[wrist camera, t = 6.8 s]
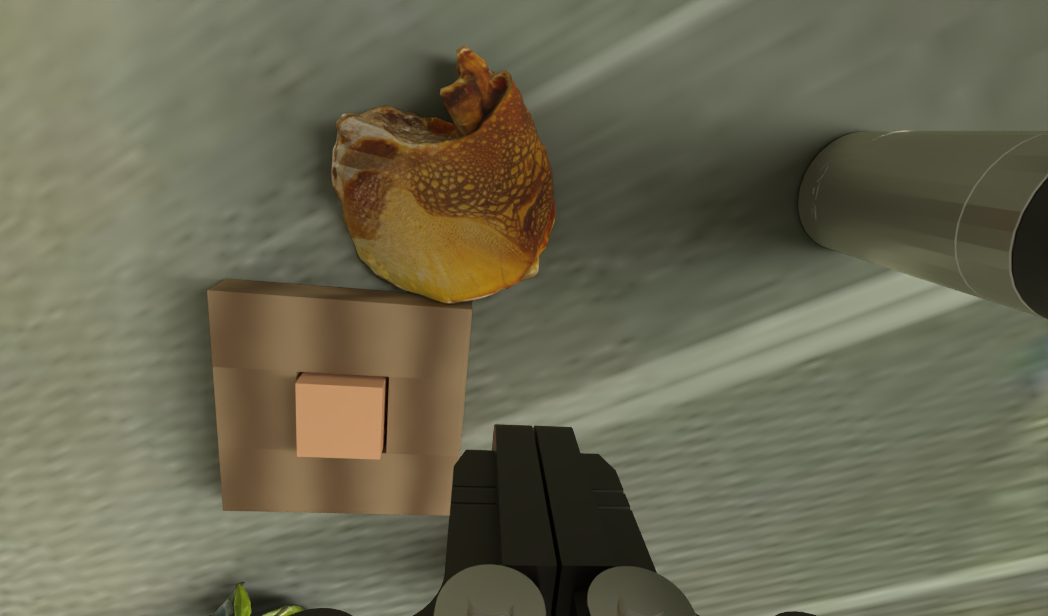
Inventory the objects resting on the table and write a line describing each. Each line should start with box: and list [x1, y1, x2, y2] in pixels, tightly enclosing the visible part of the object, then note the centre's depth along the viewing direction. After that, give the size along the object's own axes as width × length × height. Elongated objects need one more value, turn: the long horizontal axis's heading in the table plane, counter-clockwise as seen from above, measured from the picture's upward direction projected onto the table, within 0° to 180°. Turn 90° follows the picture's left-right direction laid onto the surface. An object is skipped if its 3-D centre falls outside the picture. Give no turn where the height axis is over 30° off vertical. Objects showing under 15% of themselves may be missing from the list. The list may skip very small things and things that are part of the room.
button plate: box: [207, 279, 472, 516], centre depth 41 cm, size 18×18×3 cm
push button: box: [295, 372, 389, 460], centre depth 40 cm, size 6×6×4 cm
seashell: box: [331, 46, 556, 304], centre depth 36 cm, size 17×8×15 cm
